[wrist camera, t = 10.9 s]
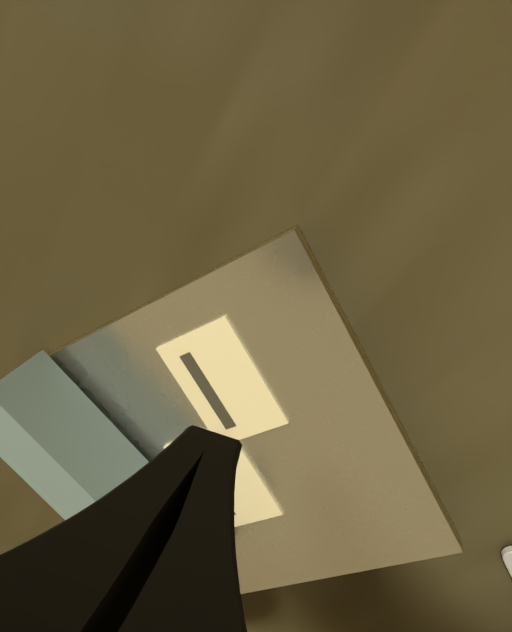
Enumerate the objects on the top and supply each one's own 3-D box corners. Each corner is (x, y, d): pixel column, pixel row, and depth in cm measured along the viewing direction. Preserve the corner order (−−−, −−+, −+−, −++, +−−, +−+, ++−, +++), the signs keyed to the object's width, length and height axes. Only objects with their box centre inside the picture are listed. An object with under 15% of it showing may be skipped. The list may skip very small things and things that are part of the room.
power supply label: (289, 420, 22) (288, 423, 22) (220, 444, 23) (219, 447, 23) (226, 315, 20) (225, 317, 20) (157, 347, 22) (155, 349, 22)
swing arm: (262, 566, 25) (242, 650, 21) (210, 586, 27) (182, 668, 23) (52, 341, 22) (-18, 390, 18) (8, 379, 24) (-65, 432, 20)
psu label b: (283, 511, 24) (282, 515, 24) (221, 527, 26) (220, 531, 25) (226, 423, 23) (225, 426, 22) (164, 445, 24) (162, 448, 24)
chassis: (459, 535, 23) (481, 634, 19) (220, 584, 29) (194, 668, 25) (297, 224, 19) (276, 256, 15) (52, 351, 25) (-18, 402, 20)
